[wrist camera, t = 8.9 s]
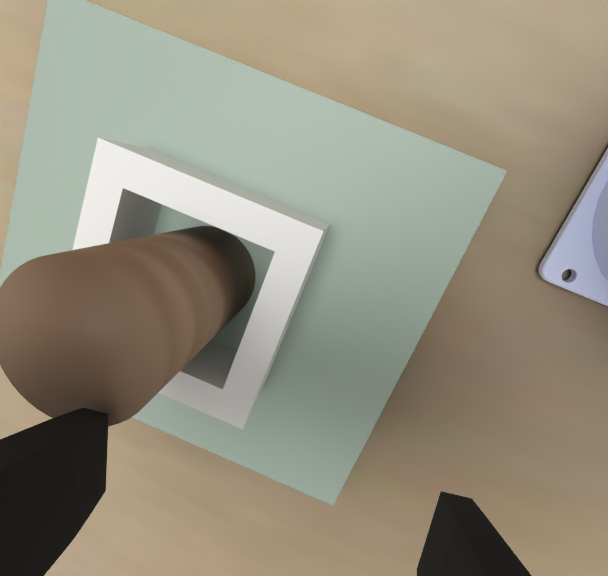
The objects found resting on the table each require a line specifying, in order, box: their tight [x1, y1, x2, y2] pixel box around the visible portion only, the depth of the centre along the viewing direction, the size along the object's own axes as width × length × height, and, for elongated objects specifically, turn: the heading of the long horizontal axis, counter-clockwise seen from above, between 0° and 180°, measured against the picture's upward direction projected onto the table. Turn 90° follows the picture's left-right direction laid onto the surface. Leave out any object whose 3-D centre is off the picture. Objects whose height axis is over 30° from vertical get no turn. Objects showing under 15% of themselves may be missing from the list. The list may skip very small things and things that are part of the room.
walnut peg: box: [0, 226, 255, 426], centre depth 12 cm, size 4×4×8 cm
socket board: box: [0, 0, 507, 506], centre depth 15 cm, size 18×16×4 cm
